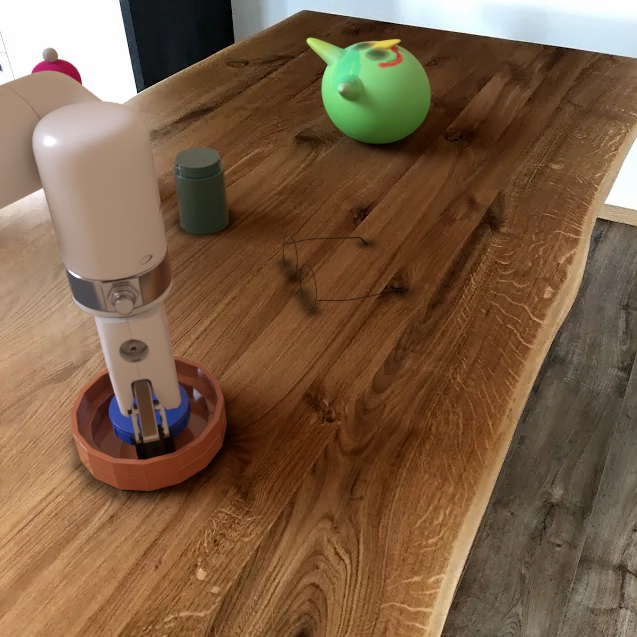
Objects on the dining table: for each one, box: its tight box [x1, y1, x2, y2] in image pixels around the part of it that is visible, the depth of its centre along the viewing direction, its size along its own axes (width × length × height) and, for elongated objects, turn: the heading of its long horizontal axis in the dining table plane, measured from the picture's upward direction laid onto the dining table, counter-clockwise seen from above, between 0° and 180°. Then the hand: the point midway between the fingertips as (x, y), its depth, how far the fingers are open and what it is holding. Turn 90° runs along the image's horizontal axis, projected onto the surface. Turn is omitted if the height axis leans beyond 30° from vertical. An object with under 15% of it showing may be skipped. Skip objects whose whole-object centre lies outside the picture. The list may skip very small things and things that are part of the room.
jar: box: [172, 146, 230, 235], centre depth 91 cm, size 6×6×9 cm
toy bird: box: [306, 37, 432, 145], centre depth 109 cm, size 18×17×15 cm
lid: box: [109, 384, 191, 446], centre depth 64 cm, size 7×7×2 cm
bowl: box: [69, 355, 228, 492], centre depth 65 cm, size 13×13×4 cm
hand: (153, 430), depth 66 cm, fingers closed on lid, 6 cm apart
